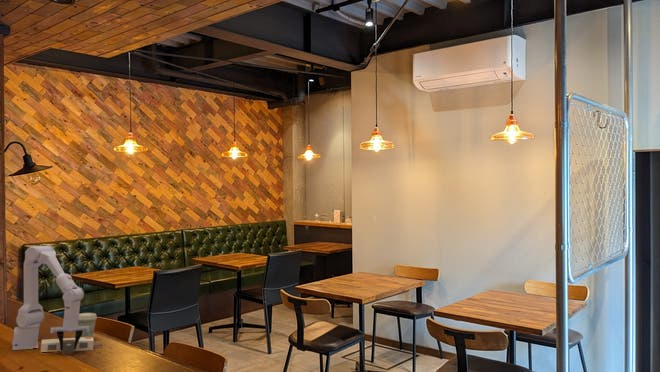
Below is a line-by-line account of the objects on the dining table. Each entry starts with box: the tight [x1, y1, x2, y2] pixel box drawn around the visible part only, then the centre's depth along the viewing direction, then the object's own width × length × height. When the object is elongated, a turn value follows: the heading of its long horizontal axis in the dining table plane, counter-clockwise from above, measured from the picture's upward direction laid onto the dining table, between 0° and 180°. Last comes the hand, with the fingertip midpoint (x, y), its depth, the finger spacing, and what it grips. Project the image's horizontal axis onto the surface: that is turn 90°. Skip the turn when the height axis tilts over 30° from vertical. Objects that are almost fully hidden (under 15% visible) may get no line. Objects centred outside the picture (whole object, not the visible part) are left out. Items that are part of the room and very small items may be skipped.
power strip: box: [40, 337, 103, 353], centre depth 216 cm, size 24×7×4 cm, turn 120°
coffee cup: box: [78, 312, 98, 338], centre depth 232 cm, size 8×9×12 cm
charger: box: [61, 340, 75, 355], centre depth 211 cm, size 4×6×5 cm
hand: (68, 349), depth 210 cm, fingers closed on charger, 4 cm apart
